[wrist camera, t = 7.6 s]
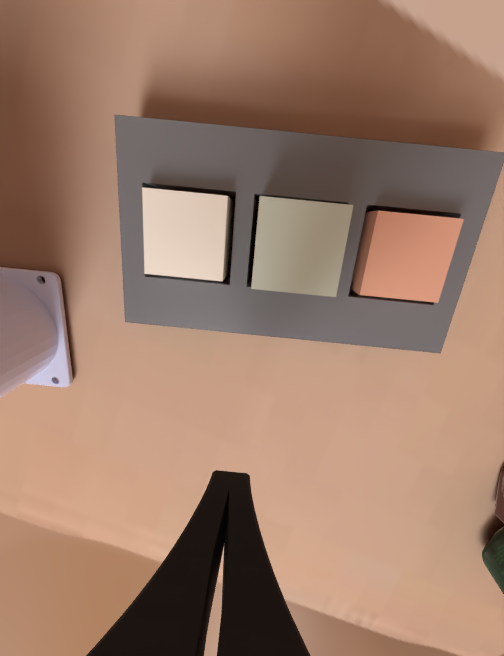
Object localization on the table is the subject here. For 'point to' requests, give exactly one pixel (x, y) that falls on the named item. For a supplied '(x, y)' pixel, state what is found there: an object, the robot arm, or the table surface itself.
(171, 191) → the cream key
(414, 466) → the table surface
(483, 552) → the coffee jar
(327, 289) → the sage key
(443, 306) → the keypad
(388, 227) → the terracotta key
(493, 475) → the table surface
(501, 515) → the box
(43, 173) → the table surface
